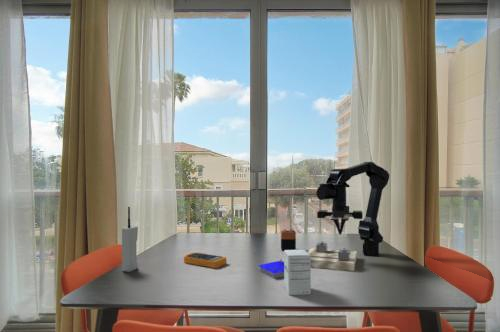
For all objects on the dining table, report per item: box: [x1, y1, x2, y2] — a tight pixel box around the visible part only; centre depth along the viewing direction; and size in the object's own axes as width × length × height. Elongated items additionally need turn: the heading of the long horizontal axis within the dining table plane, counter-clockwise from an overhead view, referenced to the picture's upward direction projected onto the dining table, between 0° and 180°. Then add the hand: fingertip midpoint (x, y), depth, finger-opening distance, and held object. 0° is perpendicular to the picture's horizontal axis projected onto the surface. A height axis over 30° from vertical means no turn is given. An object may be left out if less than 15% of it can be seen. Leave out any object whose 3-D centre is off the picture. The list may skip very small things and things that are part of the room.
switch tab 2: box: [338, 247, 351, 261], centre depth 139 cm, size 4×5×4 cm
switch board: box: [307, 247, 358, 272], centre depth 146 cm, size 20×20×3 cm
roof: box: [257, 259, 284, 279], centre depth 132 cm, size 12×12×5 cm
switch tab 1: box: [315, 240, 328, 253], centre depth 152 cm, size 4×5×4 cm
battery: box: [280, 228, 297, 252], centre depth 167 cm, size 4×7×10 cm, turn 91°
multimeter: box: [183, 252, 227, 269], centre depth 145 cm, size 9×18×3 cm, turn 58°
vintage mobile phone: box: [121, 206, 139, 273], centre depth 136 cm, size 4×5×25 cm
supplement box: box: [283, 249, 312, 296], centre depth 112 cm, size 7×7×13 cm
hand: (340, 234), depth 149 cm, fingers closed
